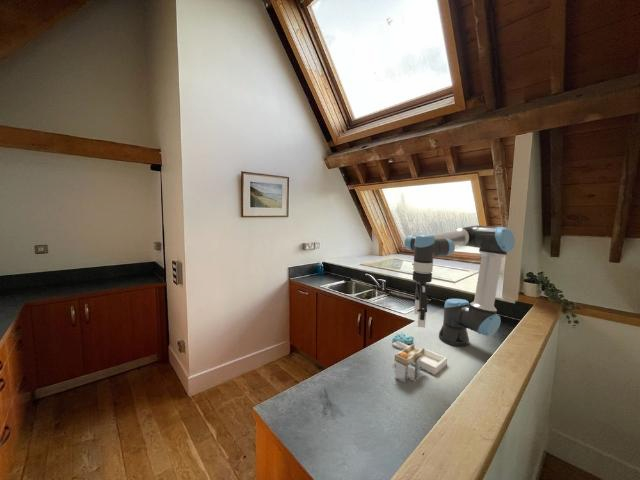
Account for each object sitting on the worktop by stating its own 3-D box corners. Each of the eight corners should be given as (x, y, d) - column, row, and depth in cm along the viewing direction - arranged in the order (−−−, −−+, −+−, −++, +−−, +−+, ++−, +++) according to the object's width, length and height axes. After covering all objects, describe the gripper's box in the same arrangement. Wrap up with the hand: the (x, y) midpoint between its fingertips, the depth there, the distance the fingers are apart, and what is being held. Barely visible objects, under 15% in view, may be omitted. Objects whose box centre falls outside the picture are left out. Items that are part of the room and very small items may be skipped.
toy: (416, 335, 145) (406, 341, 134) (415, 343, 146) (405, 350, 134) (399, 329, 152) (388, 335, 140) (398, 337, 152) (387, 344, 140)
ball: (402, 356, 113) (402, 349, 113) (409, 359, 111) (409, 352, 110) (398, 359, 111) (398, 352, 111) (405, 362, 109) (405, 355, 108)
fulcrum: (403, 365, 121) (404, 348, 120) (423, 375, 114) (424, 357, 113) (389, 375, 114) (390, 356, 113) (410, 386, 107) (411, 366, 106)
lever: (397, 342, 127) (397, 337, 127) (424, 354, 117) (424, 348, 117) (378, 352, 117) (379, 347, 117) (406, 366, 107) (406, 360, 107)
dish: (422, 354, 131) (422, 347, 131) (446, 365, 123) (447, 357, 122) (409, 363, 124) (410, 355, 123) (435, 375, 115) (435, 367, 114)
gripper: (410, 265, 123) (407, 308, 126) (416, 278, 99) (412, 331, 102) (427, 266, 121) (424, 310, 124) (437, 279, 97) (433, 334, 100)
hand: (419, 320), depth 113 cm, fingers open, 13 cm apart
